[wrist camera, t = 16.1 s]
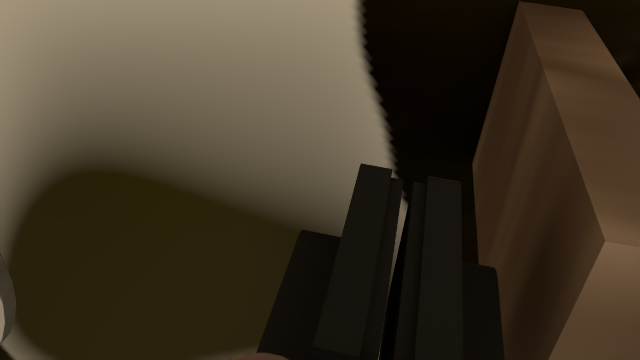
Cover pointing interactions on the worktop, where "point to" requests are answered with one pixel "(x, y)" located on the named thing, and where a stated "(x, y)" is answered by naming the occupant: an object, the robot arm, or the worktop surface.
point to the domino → (561, 192)
